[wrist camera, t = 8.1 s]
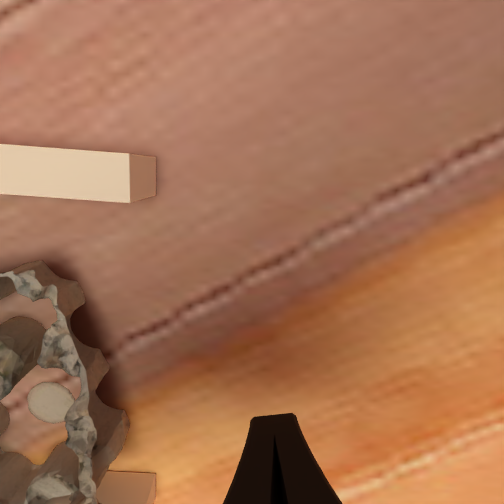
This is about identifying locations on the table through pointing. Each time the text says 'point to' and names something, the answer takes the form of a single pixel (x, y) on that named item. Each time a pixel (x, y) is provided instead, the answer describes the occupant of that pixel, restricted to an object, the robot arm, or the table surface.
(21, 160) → the display bay
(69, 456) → the egg carton
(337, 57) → the table surface
